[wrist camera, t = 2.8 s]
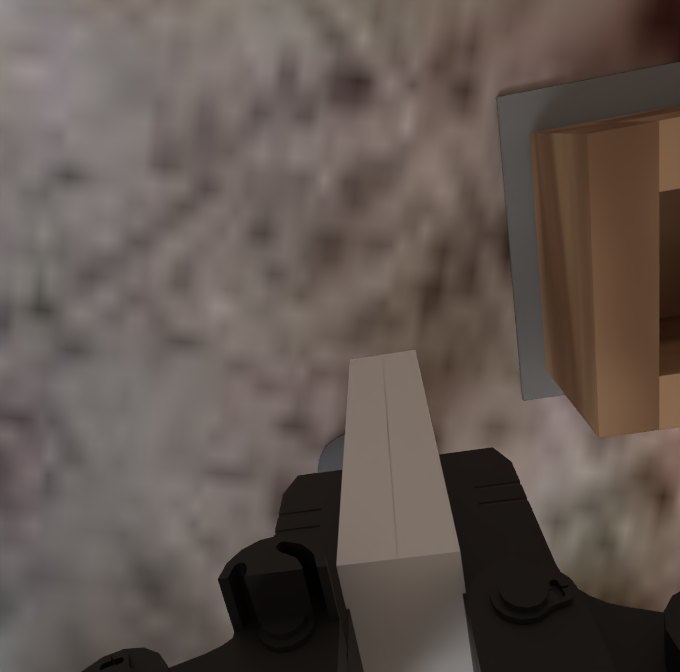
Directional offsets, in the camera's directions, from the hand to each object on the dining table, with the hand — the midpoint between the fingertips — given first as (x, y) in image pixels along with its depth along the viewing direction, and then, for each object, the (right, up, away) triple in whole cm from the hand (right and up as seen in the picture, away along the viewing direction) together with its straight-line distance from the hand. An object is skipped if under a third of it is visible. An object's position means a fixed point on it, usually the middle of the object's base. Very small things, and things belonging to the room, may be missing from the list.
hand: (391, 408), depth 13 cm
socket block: (+12, +6, +11) cm, 17 cm away
